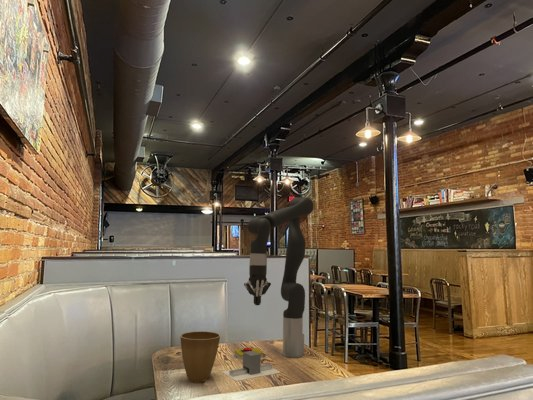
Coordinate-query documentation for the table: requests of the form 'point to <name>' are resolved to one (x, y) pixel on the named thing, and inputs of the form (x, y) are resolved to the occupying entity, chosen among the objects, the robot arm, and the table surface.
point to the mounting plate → (248, 376)
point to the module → (252, 361)
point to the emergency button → (240, 351)
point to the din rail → (246, 370)
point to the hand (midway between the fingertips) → (257, 305)
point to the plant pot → (199, 354)
